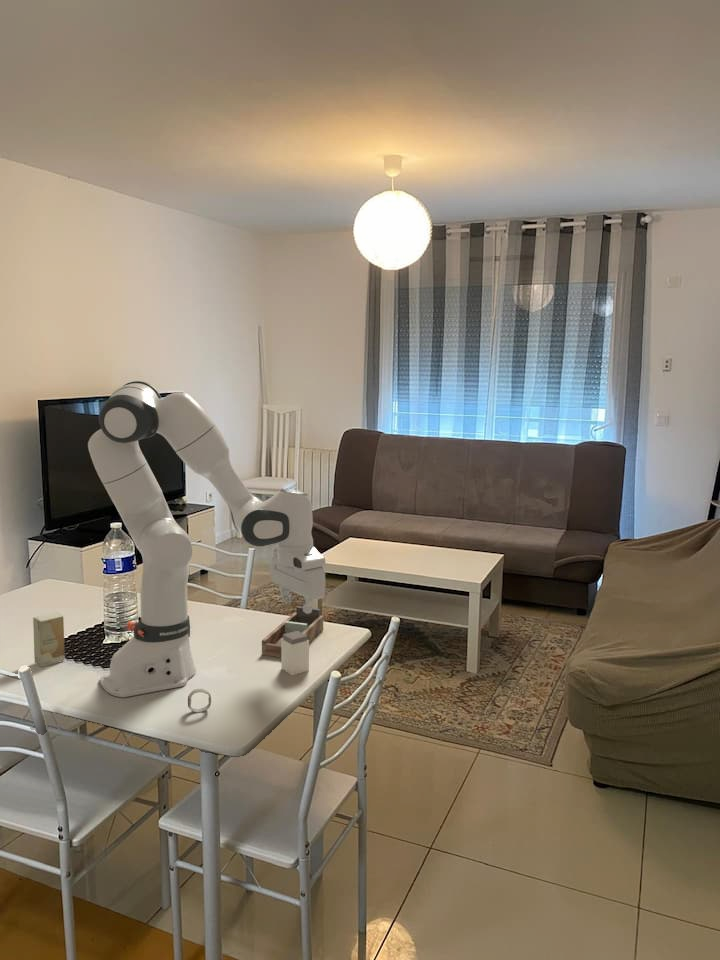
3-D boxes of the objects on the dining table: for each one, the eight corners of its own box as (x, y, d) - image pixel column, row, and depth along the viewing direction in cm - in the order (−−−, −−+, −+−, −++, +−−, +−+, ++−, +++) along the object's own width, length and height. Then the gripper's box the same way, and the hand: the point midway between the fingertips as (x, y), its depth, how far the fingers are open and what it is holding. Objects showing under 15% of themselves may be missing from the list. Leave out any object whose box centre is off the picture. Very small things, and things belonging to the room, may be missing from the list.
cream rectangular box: (292, 675, 178) (292, 640, 176) (281, 668, 182) (281, 634, 180) (308, 670, 181) (309, 635, 180) (298, 664, 185) (298, 630, 183)
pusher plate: (306, 636, 200) (306, 624, 199) (284, 634, 202) (284, 622, 201) (307, 635, 201) (307, 623, 200) (286, 632, 203) (286, 621, 202)
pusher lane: (293, 659, 188) (293, 637, 187) (261, 654, 190) (261, 633, 189) (323, 629, 209) (323, 609, 209) (294, 625, 212) (294, 605, 211)
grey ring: (187, 709, 160) (187, 688, 159) (210, 706, 161) (210, 685, 160) (188, 715, 157) (188, 694, 156) (211, 712, 158) (211, 691, 158)
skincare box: (41, 668, 180) (38, 621, 178) (34, 663, 183) (31, 617, 181) (66, 660, 185) (64, 615, 183) (58, 656, 188) (56, 611, 186)
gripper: (262, 547, 183) (264, 599, 185) (307, 565, 167) (308, 621, 169) (284, 543, 187) (285, 594, 189) (329, 560, 171) (330, 615, 173)
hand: (296, 607), depth 179 cm, fingers open, 8 cm apart
